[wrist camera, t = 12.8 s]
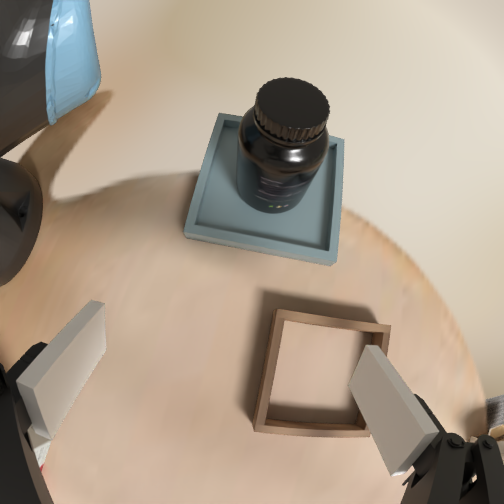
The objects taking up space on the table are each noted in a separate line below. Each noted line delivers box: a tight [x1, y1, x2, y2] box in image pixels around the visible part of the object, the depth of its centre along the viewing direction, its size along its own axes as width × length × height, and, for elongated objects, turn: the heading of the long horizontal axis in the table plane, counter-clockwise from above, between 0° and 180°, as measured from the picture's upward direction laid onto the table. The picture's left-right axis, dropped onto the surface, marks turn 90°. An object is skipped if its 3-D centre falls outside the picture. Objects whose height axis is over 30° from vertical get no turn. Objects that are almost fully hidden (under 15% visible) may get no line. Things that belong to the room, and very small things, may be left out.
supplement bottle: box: [236, 77, 330, 214], centre depth 23 cm, size 7×7×12 cm
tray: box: [183, 113, 344, 266], centre depth 28 cm, size 14×14×2 cm
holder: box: [252, 309, 391, 438], centre depth 24 cm, size 11×11×2 cm
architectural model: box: [470, 423, 504, 461], centre depth 20 cm, size 3×7×7 cm, turn 83°
